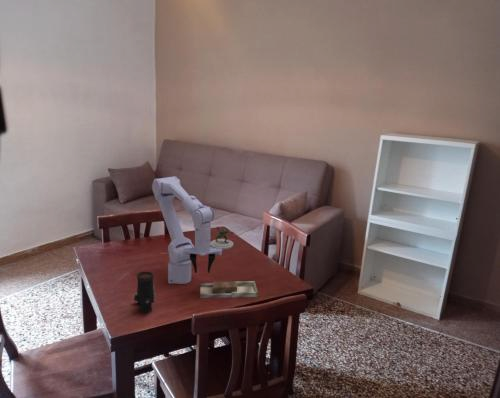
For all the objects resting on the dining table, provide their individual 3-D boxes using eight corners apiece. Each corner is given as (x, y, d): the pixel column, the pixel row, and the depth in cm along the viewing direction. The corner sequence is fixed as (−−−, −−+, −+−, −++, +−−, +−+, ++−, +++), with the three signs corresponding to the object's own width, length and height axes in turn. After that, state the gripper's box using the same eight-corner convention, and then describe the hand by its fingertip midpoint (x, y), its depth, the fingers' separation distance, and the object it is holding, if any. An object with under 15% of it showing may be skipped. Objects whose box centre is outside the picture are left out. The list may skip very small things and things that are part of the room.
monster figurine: (219, 251, 192) (220, 231, 189) (205, 243, 200) (205, 225, 197) (238, 245, 200) (238, 227, 197) (223, 238, 208) (224, 220, 205)
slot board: (200, 299, 147) (200, 293, 146) (200, 287, 156) (200, 281, 155) (257, 298, 150) (257, 292, 149) (254, 286, 159) (254, 281, 158)
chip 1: (212, 294, 150) (212, 287, 149) (212, 288, 154) (212, 281, 153) (224, 294, 150) (224, 287, 149) (223, 288, 155) (224, 281, 154)
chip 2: (225, 294, 150) (225, 287, 149) (224, 288, 155) (224, 281, 154) (236, 294, 151) (237, 287, 150) (235, 288, 155) (236, 281, 154)
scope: (154, 265, 142) (159, 278, 133) (154, 299, 146) (160, 313, 137) (130, 268, 139) (134, 281, 130) (132, 303, 143) (136, 317, 134)
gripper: (182, 242, 141) (182, 276, 144) (222, 242, 142) (221, 276, 146) (183, 235, 147) (183, 268, 151) (221, 235, 149) (220, 267, 153)
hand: (202, 271), depth 149 cm, fingers open, 4 cm apart
